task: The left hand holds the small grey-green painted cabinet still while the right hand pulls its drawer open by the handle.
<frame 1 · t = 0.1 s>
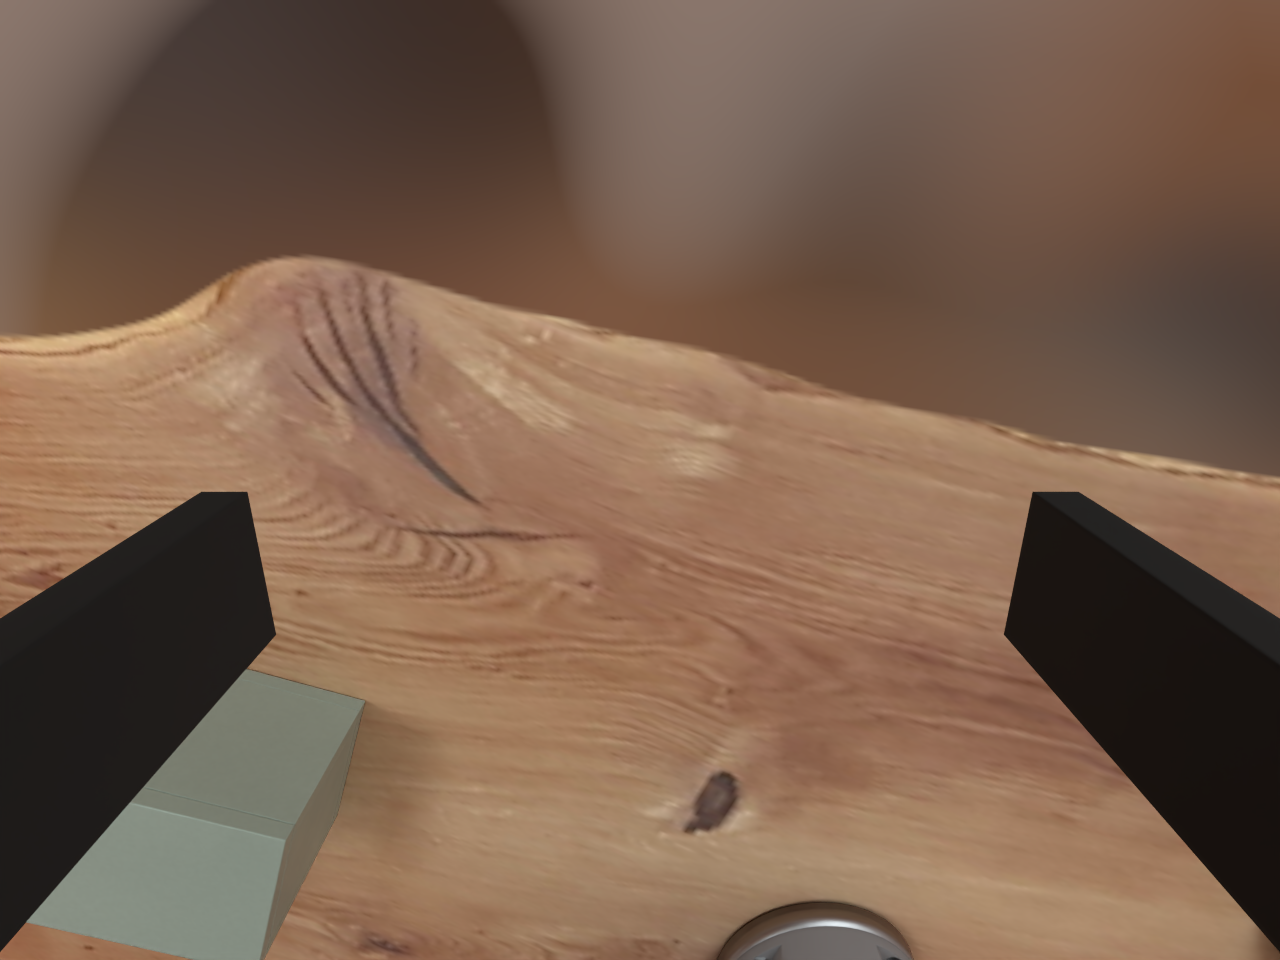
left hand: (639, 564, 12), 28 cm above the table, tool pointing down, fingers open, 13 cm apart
cabinet: (220, 726, 48), on the table
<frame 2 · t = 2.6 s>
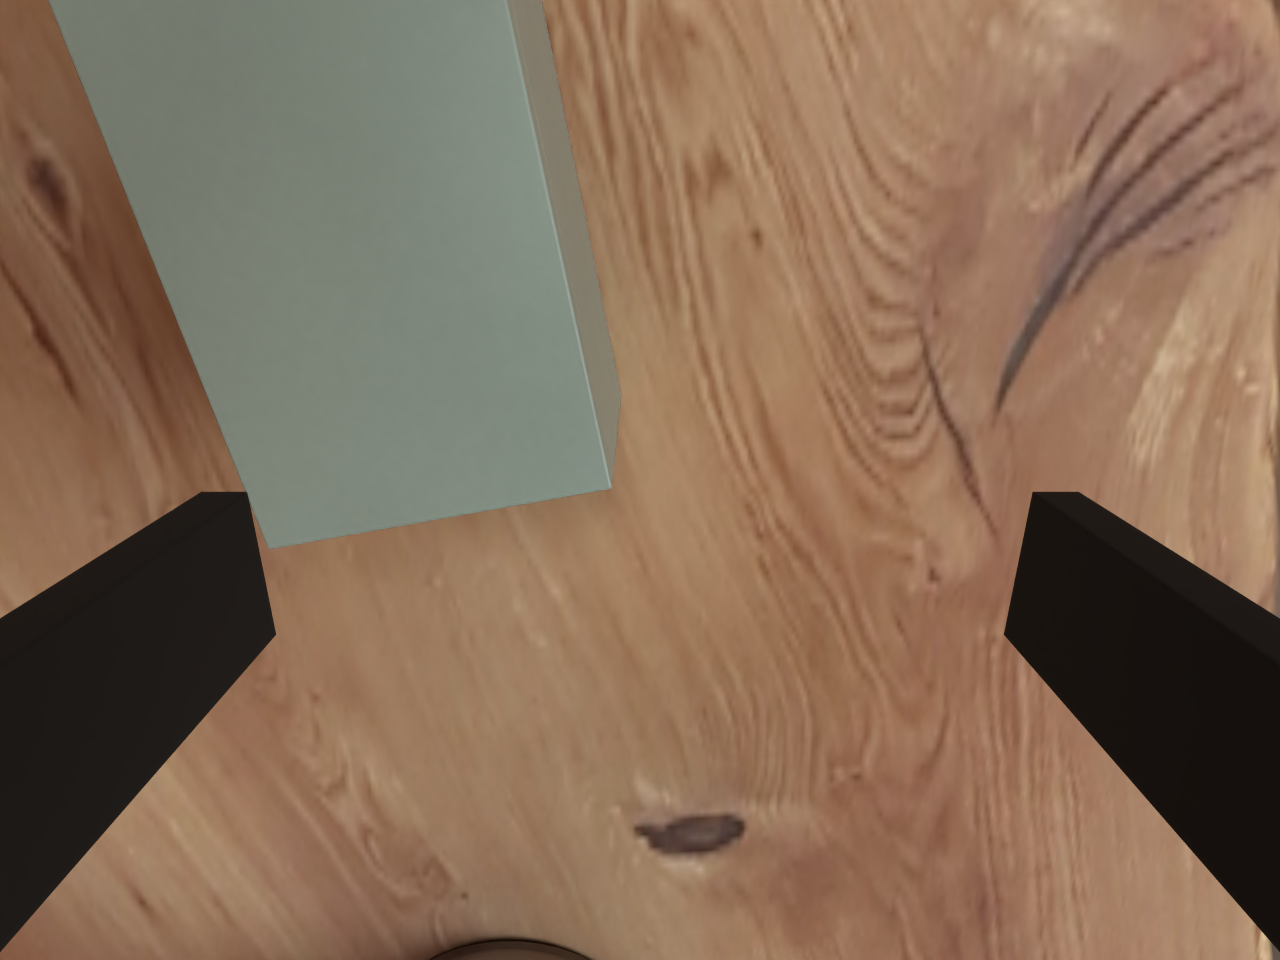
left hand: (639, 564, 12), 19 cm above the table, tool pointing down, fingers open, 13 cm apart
cabinet: (451, 206, 28), on the table
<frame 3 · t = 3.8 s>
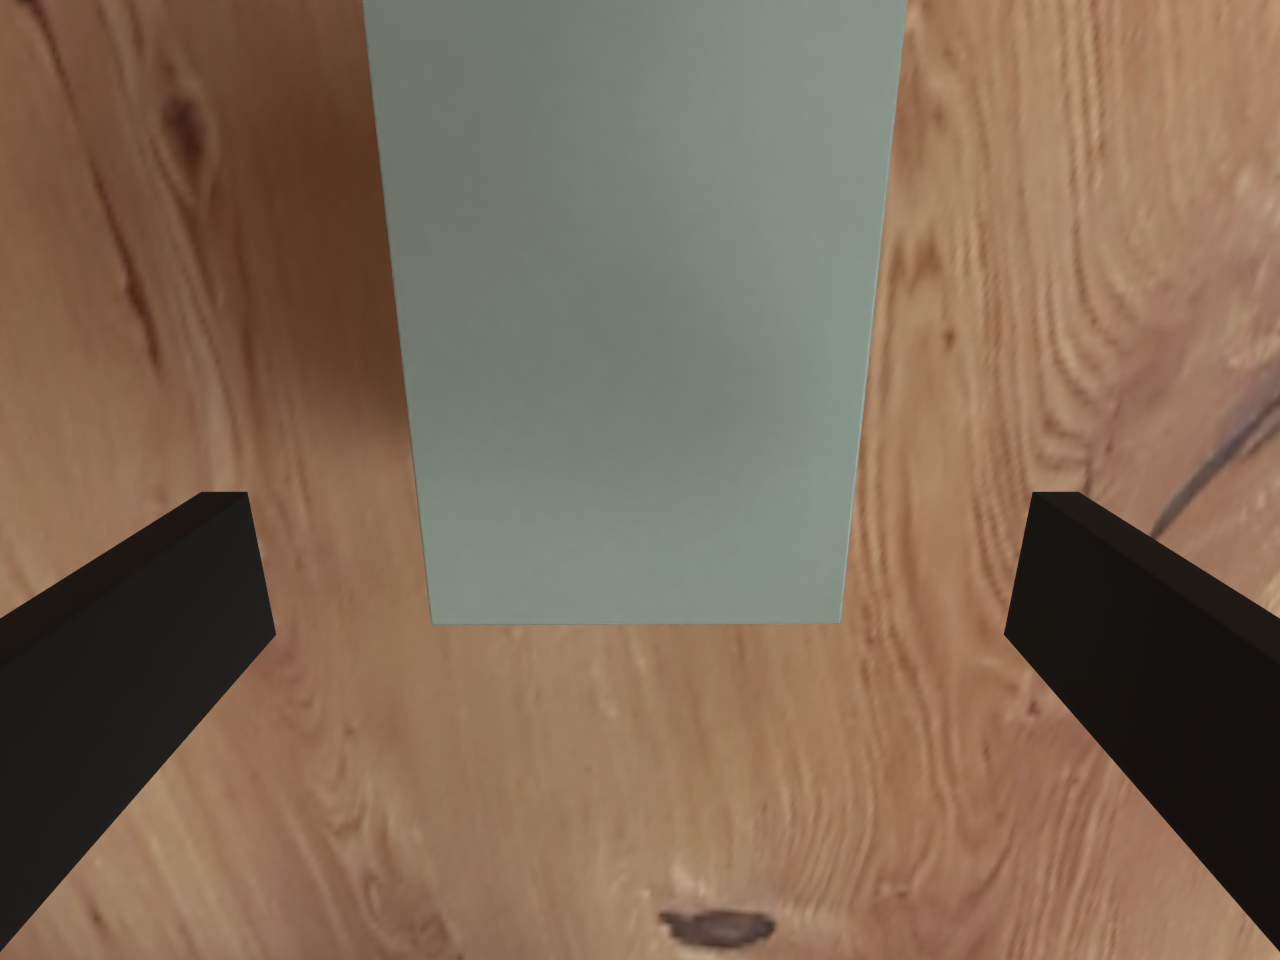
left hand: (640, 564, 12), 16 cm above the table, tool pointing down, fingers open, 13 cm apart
cabinet: (635, 243, 25), on the table
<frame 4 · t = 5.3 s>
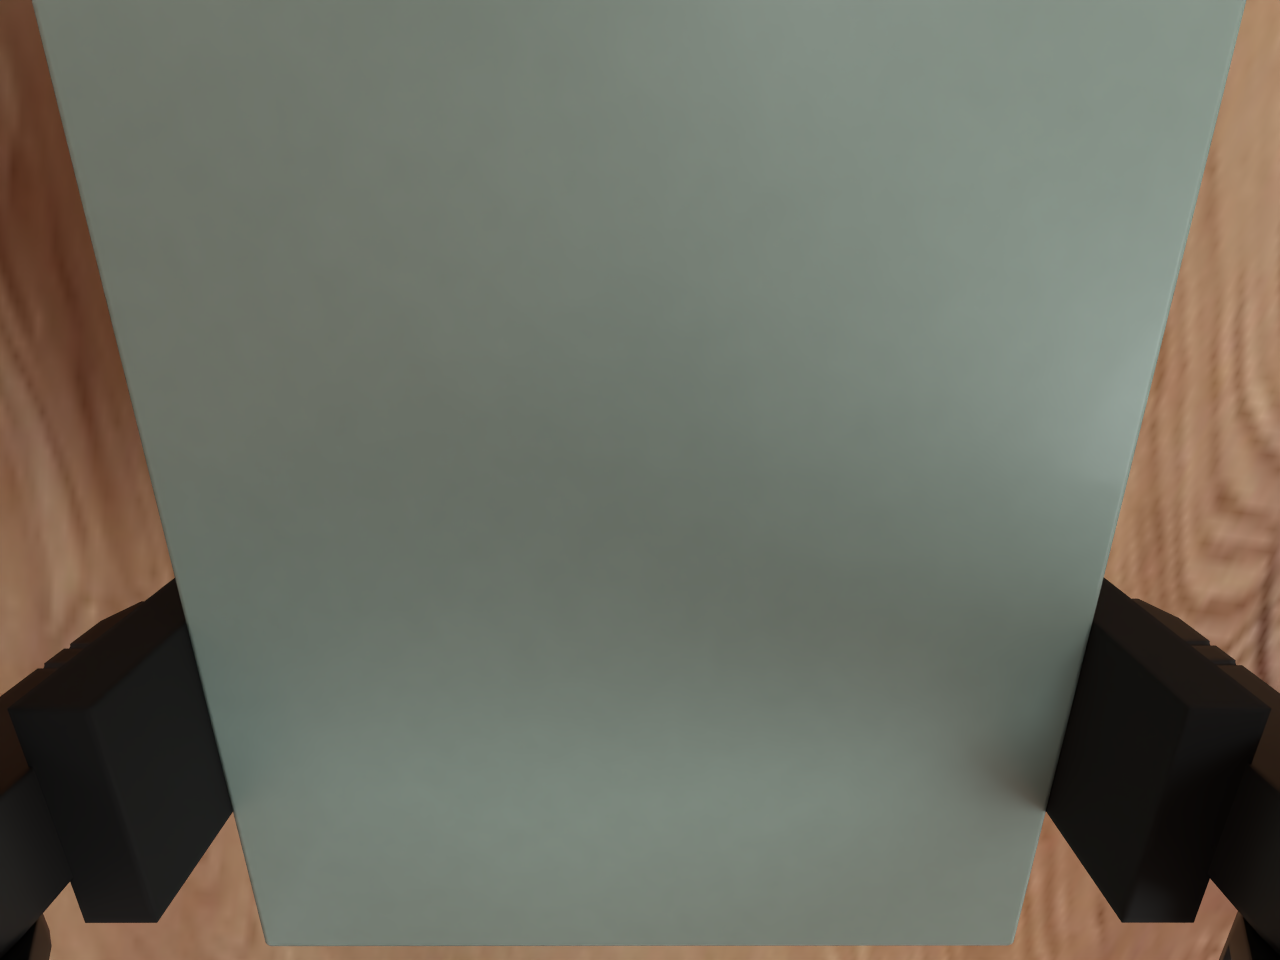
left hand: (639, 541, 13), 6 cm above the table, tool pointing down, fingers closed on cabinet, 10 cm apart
cabinet: (639, 244, 17), on the table, touching left hand
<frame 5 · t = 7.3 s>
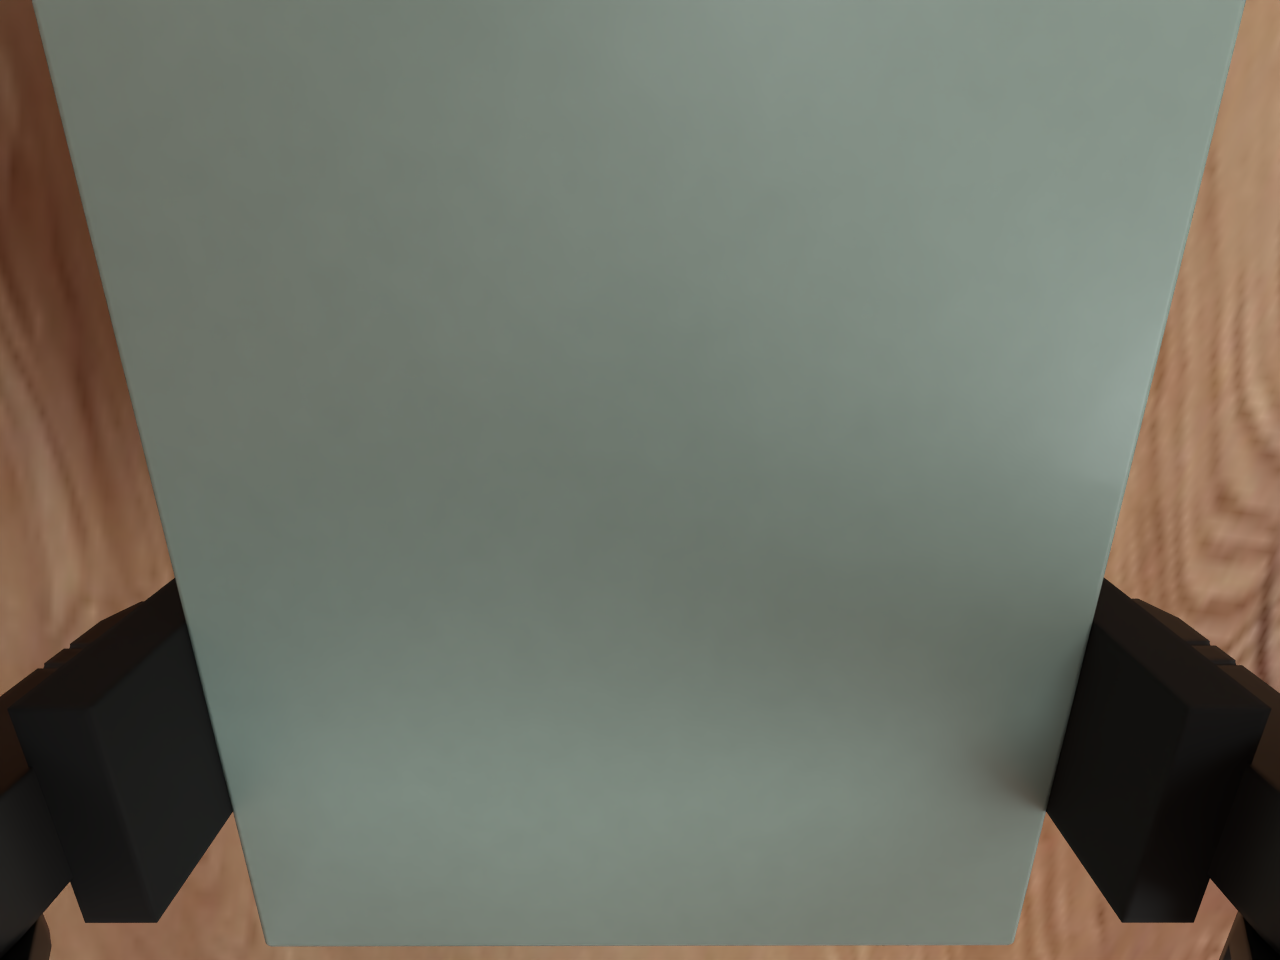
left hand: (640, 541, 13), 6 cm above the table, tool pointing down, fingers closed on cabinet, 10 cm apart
cabinet: (639, 244, 17), on the table, touching left hand
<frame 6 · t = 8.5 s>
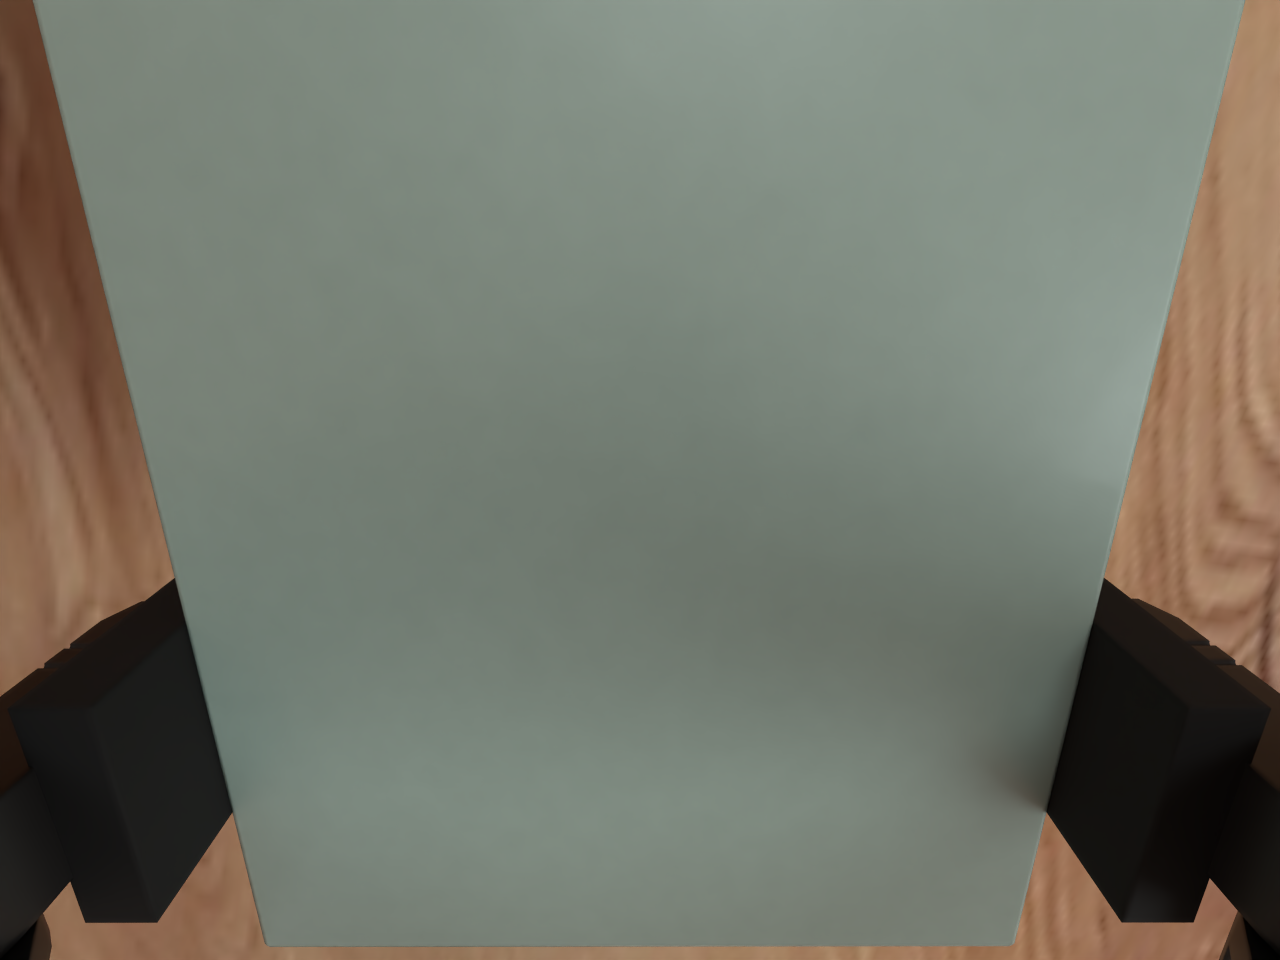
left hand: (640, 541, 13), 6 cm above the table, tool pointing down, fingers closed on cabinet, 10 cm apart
cabinet: (639, 244, 17), on the table, touching left hand
when the left hand's fingers open (6 cm above the table, at t = 9.9 s): cabinet stays where it is, on the table.
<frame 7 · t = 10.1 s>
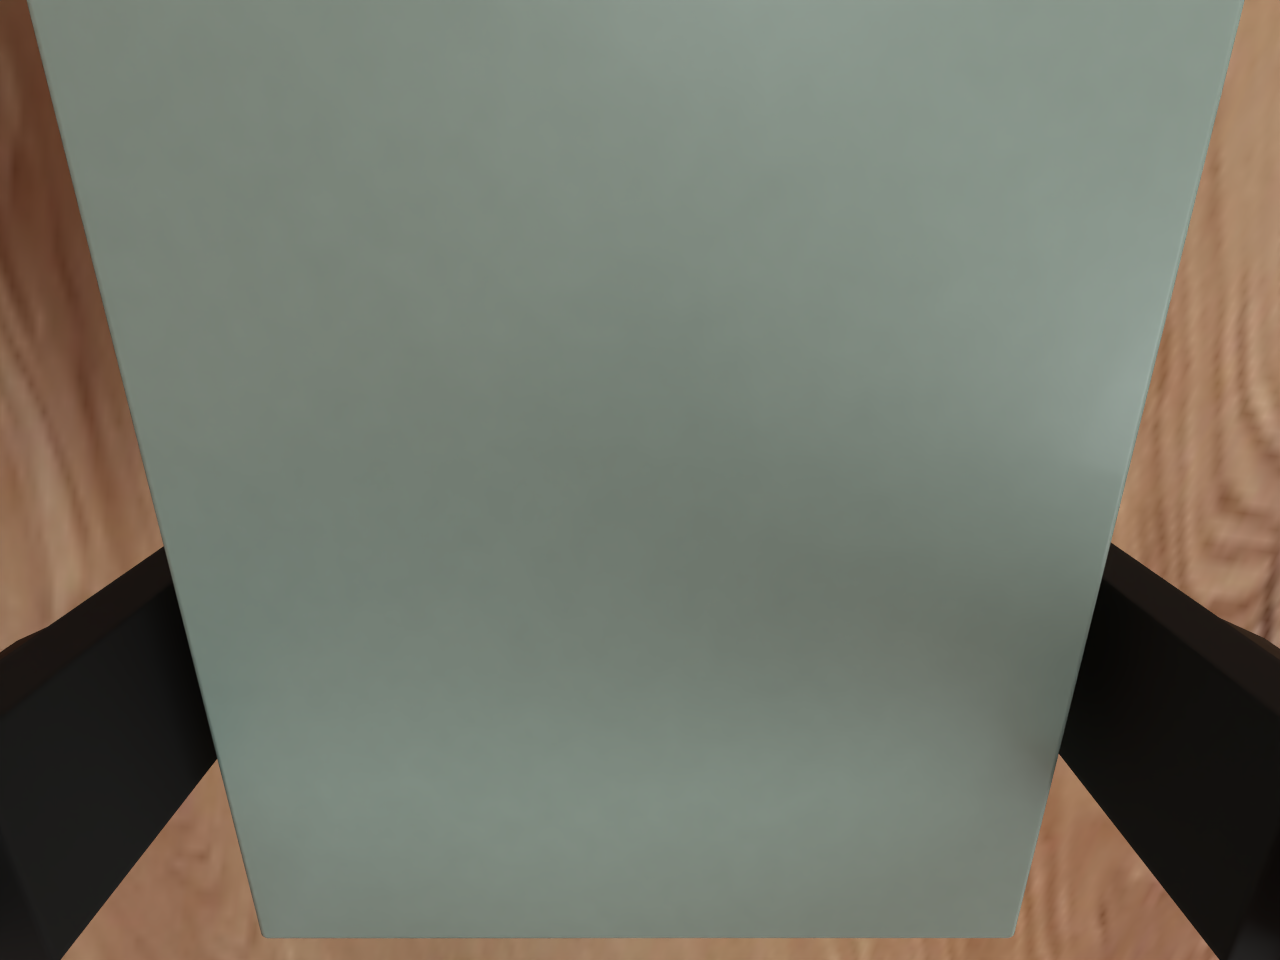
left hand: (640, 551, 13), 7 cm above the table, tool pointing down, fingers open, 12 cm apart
cabinet: (638, 236, 17), on the table
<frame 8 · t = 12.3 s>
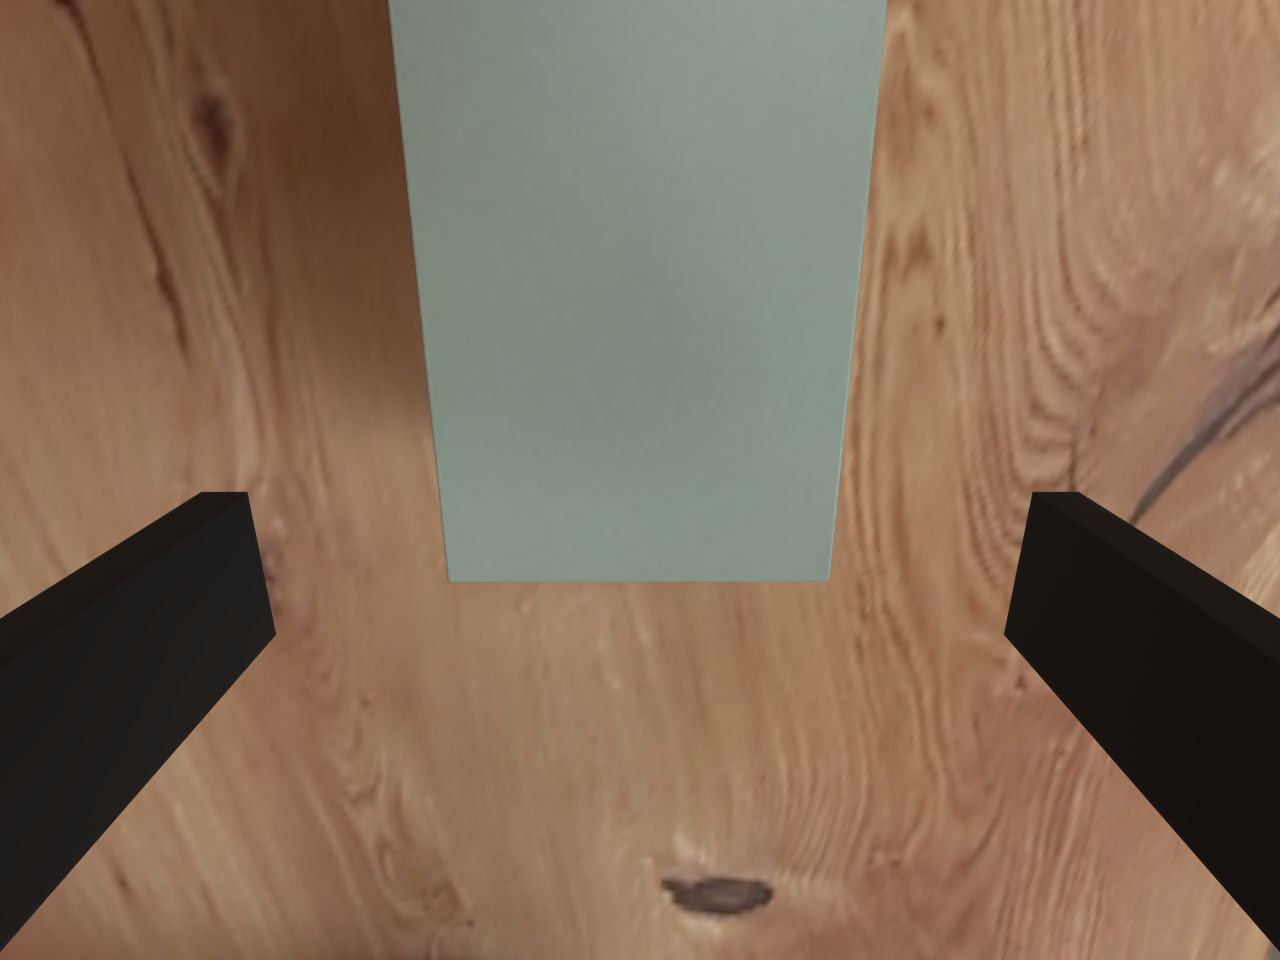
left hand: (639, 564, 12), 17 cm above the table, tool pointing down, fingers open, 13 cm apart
cabinet: (638, 229, 27), on the table
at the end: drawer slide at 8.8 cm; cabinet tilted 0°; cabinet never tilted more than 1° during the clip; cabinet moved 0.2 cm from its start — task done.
